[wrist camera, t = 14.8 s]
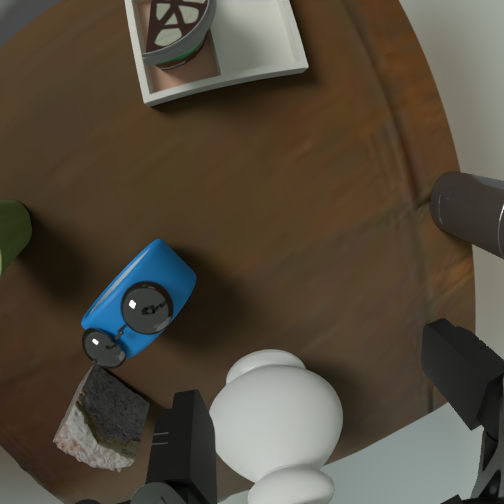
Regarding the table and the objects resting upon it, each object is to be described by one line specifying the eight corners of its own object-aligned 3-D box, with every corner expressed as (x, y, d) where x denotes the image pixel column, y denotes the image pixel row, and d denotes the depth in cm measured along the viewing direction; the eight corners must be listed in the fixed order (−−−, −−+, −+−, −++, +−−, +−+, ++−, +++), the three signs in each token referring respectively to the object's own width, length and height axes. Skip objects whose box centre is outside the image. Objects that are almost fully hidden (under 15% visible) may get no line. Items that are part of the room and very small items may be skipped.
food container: (214, 81, 33) (212, 56, 23) (161, 82, 32) (140, 59, 23) (220, -7, 29) (220, -49, 20) (169, -5, 28) (156, -46, 19)
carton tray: (271, -28, 29) (275, -39, 26) (302, 73, 34) (308, 67, 31) (129, 2, 29) (123, -8, 26) (150, 106, 34) (144, 103, 31)
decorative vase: (198, 342, 43) (188, 501, 20) (323, 324, 44) (398, 462, 21) (219, 425, 49) (225, 555, 25) (322, 409, 50) (367, 529, 26)
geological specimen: (152, 397, 46) (137, 470, 32) (133, 414, 47) (117, 483, 33) (96, 359, 43) (63, 428, 29) (80, 379, 44) (49, 444, 30)
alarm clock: (168, 224, 38) (139, 268, 24) (202, 260, 40) (194, 321, 26) (102, 290, 40) (57, 352, 26) (135, 321, 42) (104, 393, 27)
